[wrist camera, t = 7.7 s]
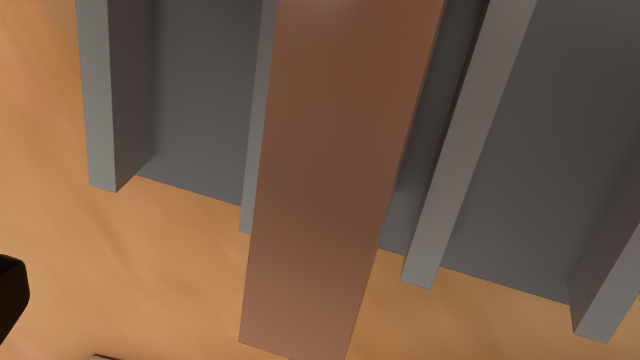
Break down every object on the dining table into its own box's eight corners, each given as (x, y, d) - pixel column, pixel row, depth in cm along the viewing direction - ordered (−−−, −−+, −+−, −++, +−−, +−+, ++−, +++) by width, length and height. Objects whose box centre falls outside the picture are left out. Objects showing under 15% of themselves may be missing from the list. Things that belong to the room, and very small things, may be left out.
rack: (886, -130, 13) (991, -115, 10) (616, 301, 21) (633, 377, 18) (93, -281, 16) (3, -302, 13) (113, 151, 24) (59, 197, 21)
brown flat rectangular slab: (474, -91, 15) (447, -16, 9) (394, 192, 20) (339, 375, 14) (379, -111, 15) (284, -54, 9) (324, 172, 20) (238, 342, 14)
